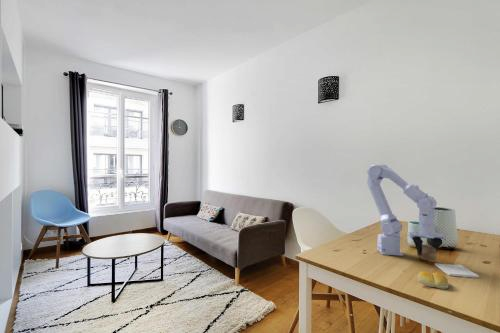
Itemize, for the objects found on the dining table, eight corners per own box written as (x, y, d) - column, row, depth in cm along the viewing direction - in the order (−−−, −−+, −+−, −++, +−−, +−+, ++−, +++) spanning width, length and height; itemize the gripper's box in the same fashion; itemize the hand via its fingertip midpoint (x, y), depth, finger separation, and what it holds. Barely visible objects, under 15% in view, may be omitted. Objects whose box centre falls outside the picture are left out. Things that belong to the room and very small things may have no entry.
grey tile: (449, 275, 95) (449, 273, 95) (434, 265, 104) (434, 263, 104) (478, 277, 93) (478, 275, 93) (461, 267, 102) (461, 265, 102)
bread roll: (417, 276, 94) (417, 266, 94) (446, 282, 89) (446, 271, 89) (418, 285, 87) (418, 274, 87) (450, 292, 82) (450, 280, 82)
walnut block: (423, 259, 106) (423, 247, 106) (417, 255, 111) (417, 244, 111) (435, 260, 105) (436, 248, 105) (429, 256, 110) (429, 245, 110)
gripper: (412, 225, 106) (412, 256, 106) (450, 226, 103) (450, 258, 103) (405, 221, 112) (405, 250, 113) (441, 223, 110) (440, 253, 110)
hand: (426, 254), depth 108 cm, fingers closed on walnut block, 5 cm apart
